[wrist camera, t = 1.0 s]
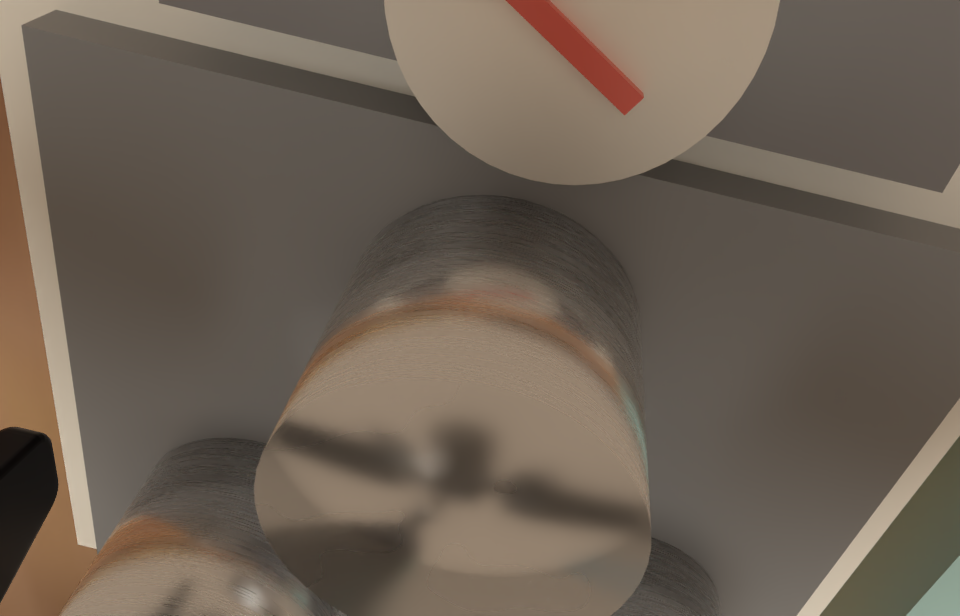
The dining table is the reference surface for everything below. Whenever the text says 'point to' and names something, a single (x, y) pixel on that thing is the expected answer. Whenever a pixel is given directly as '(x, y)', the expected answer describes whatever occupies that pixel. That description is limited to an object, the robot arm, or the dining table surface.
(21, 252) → the dining table surface
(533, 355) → the cylinder
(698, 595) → the cylinder
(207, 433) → the scale
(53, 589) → the dining table surface
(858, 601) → the tray
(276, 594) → the cylinder
